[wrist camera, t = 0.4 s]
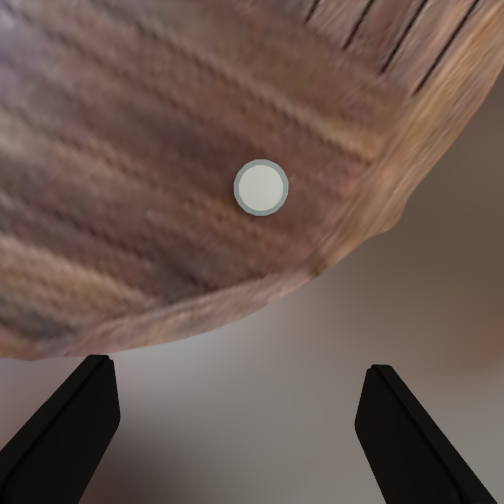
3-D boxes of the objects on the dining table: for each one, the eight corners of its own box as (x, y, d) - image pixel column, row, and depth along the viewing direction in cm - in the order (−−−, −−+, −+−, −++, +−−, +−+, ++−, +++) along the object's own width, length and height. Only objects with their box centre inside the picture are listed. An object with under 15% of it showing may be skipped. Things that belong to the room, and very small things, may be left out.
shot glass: (284, 204, 37) (292, 210, 31) (241, 214, 38) (240, 221, 31) (277, 158, 35) (283, 153, 29) (231, 168, 36) (227, 165, 29)
